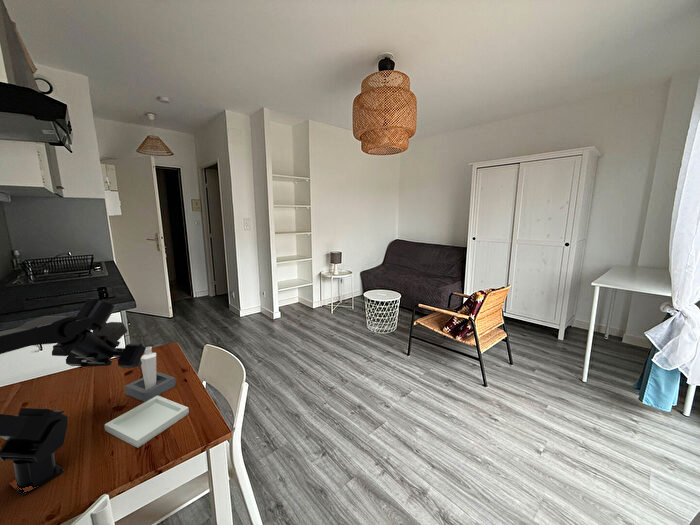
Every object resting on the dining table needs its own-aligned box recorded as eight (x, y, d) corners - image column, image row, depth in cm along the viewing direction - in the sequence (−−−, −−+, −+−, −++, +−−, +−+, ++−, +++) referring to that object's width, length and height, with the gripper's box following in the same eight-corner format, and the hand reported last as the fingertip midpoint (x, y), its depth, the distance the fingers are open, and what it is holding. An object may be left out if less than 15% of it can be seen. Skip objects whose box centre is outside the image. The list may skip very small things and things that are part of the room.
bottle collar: (175, 385, 96) (175, 377, 96) (145, 402, 87) (144, 393, 87) (156, 378, 100) (156, 371, 100) (125, 394, 91) (124, 385, 90)
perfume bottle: (157, 384, 97) (153, 343, 95) (161, 389, 94) (158, 347, 92) (141, 390, 93) (137, 348, 91) (145, 395, 90) (141, 352, 88)
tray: (188, 413, 82) (188, 407, 82) (137, 447, 70) (137, 440, 69) (157, 401, 88) (157, 395, 88) (105, 431, 75) (104, 424, 75)
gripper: (138, 317, 76) (167, 339, 89) (71, 315, 77) (110, 338, 89) (116, 357, 70) (151, 375, 82) (43, 355, 70) (89, 373, 82)
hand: (125, 364), depth 84 cm, fingers open, 9 cm apart
